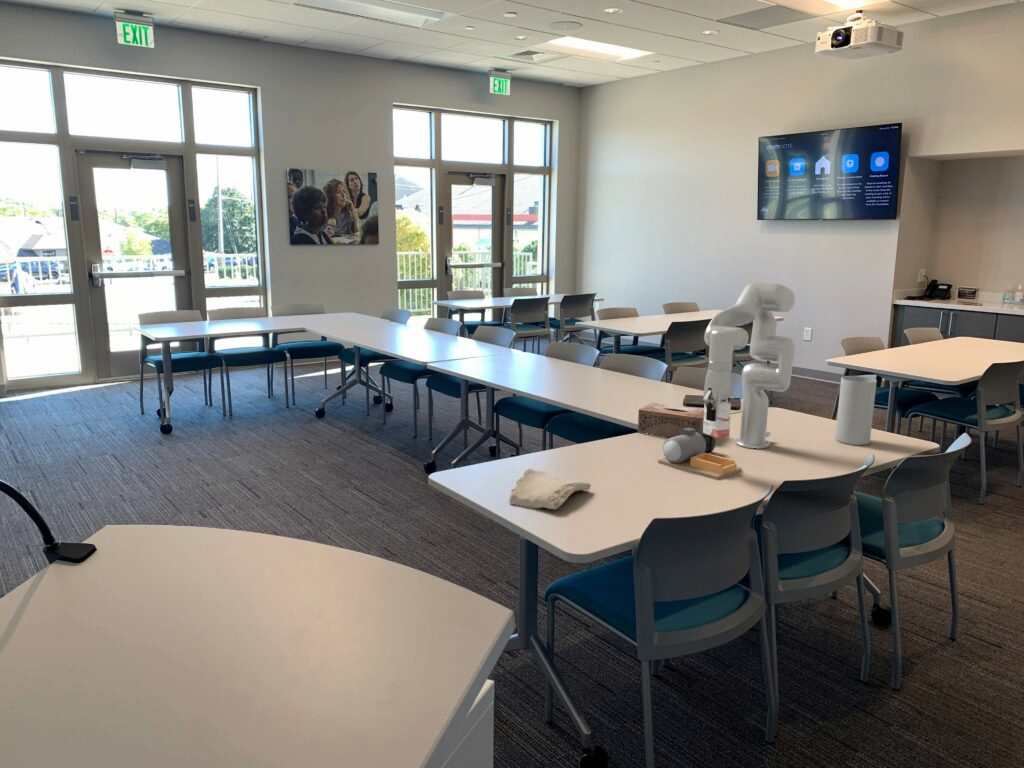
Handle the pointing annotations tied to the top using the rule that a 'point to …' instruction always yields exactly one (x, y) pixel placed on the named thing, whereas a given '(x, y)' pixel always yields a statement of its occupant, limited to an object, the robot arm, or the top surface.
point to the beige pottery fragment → (543, 490)
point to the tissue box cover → (669, 419)
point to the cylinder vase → (855, 410)
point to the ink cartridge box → (718, 420)
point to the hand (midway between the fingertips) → (716, 418)
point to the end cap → (709, 443)
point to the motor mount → (695, 456)
